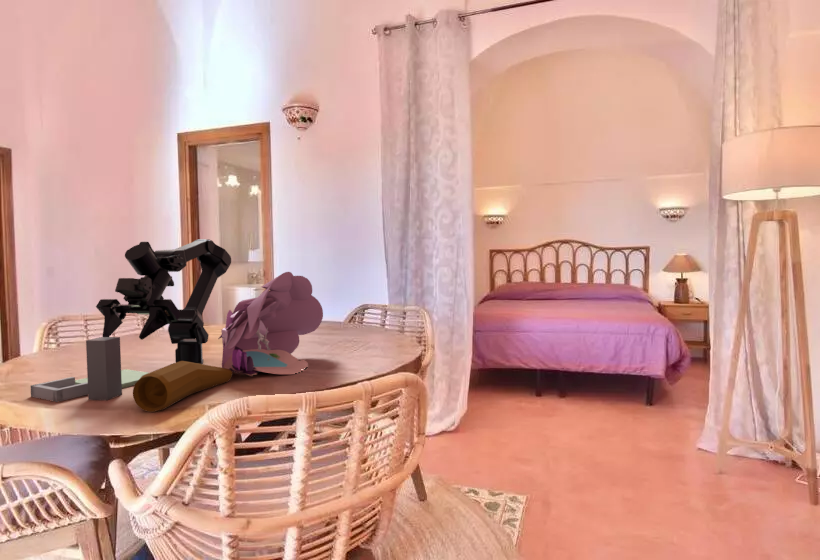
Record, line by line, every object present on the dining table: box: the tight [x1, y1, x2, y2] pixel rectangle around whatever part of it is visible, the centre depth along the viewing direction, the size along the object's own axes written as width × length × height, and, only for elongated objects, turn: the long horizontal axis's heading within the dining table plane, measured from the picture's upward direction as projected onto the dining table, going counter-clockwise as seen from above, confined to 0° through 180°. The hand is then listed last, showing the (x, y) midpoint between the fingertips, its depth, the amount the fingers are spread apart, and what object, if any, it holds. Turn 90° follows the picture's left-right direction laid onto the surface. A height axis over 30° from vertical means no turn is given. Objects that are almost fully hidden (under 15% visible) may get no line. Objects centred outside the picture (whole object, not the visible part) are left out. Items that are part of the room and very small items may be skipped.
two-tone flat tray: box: [30, 368, 149, 403], centre depth 117 cm, size 23×14×2 cm, turn 154°
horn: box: [132, 361, 233, 413], centre depth 109 cm, size 8×10×25 cm
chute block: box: [85, 336, 123, 401], centre depth 108 cm, size 4×4×13 cm
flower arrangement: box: [218, 271, 324, 377], centre depth 134 cm, size 36×24×29 cm
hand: (122, 338), depth 113 cm, fingers open, 9 cm apart
